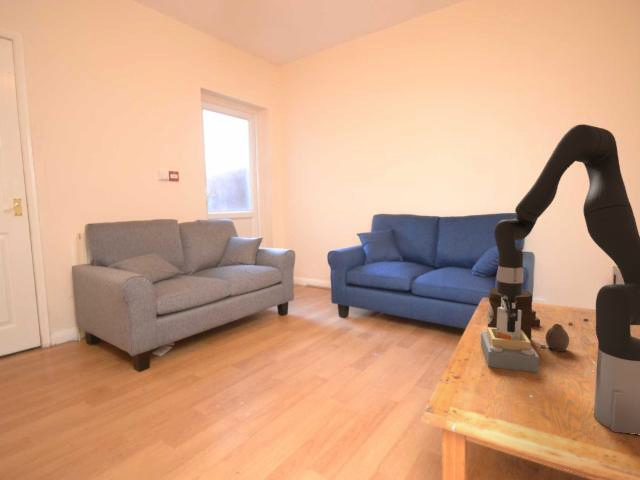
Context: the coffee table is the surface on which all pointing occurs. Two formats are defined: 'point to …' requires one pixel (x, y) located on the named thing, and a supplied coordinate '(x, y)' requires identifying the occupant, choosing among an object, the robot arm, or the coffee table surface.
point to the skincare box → (502, 325)
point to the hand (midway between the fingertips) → (508, 327)
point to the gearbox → (509, 352)
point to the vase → (557, 338)
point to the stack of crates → (535, 319)
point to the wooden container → (523, 305)
